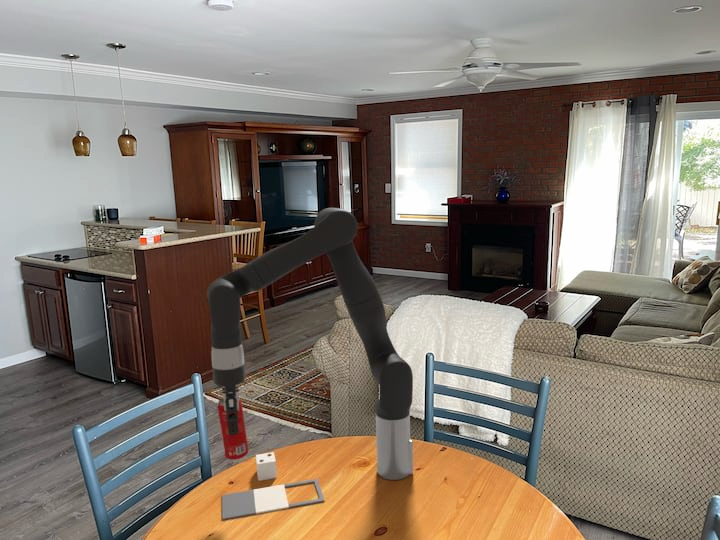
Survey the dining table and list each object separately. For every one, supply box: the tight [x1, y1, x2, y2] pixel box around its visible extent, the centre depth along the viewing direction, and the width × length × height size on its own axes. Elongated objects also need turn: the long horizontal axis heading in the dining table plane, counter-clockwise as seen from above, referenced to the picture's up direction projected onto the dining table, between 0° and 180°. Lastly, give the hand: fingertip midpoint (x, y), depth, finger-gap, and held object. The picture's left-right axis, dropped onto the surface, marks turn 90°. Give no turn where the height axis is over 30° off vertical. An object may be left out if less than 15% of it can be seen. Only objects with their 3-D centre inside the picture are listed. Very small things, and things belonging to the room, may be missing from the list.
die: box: [255, 451, 277, 482], centre depth 147 cm, size 5×5×5 cm
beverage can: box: [217, 396, 249, 461], centre depth 130 cm, size 6×6×15 cm
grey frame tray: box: [221, 478, 325, 521], centre depth 136 cm, size 25×10×1 cm, turn 105°
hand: (233, 427), depth 130 cm, fingers closed on beverage can, 5 cm apart
